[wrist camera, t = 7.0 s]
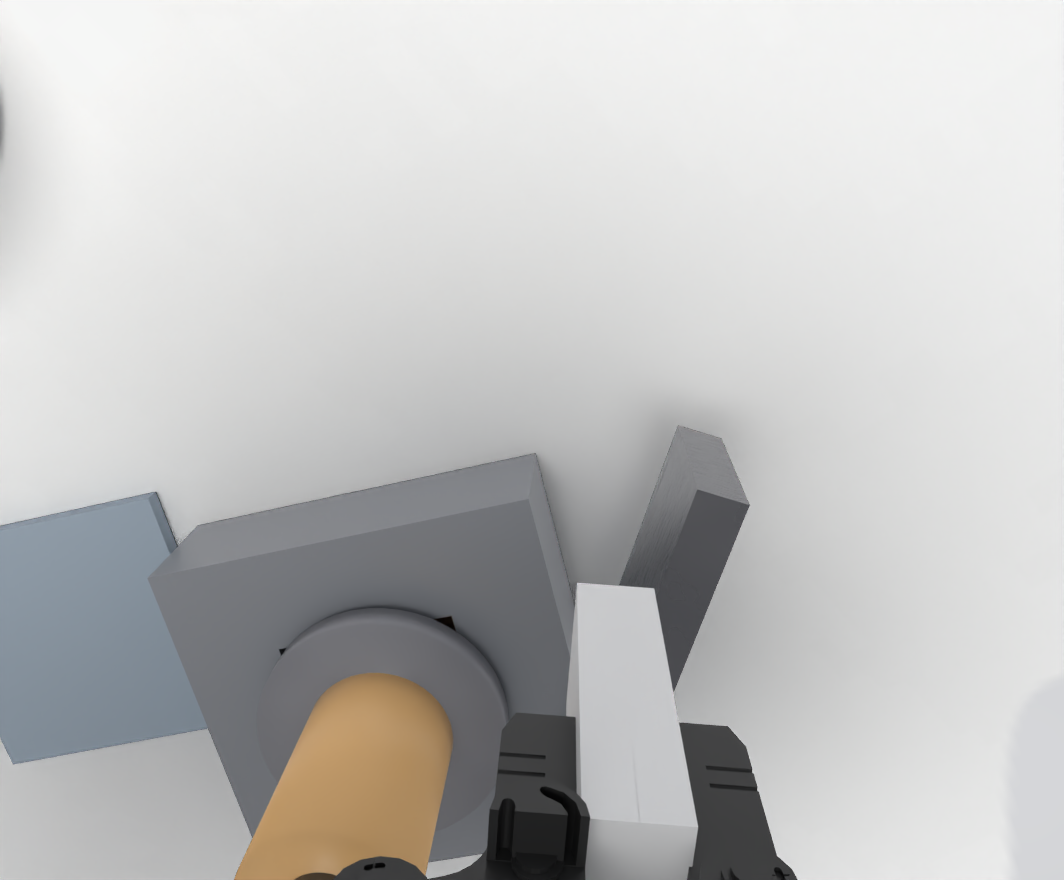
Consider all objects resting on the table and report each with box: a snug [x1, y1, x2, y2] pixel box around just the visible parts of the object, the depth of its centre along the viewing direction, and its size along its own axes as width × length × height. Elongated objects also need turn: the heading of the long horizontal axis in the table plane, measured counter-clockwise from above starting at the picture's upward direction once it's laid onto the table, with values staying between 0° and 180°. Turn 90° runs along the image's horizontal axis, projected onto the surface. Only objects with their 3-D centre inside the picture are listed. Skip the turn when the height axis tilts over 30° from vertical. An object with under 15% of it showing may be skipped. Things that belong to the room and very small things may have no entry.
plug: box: [234, 608, 509, 880], centre depth 28 cm, size 8×8×13 cm
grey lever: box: [619, 425, 749, 692], centre depth 26 cm, size 2×16×5 cm, turn 163°
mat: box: [0, 492, 208, 764], centre depth 34 cm, size 9×9×1 cm
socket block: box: [147, 453, 575, 862], centre depth 31 cm, size 12×12×5 cm
